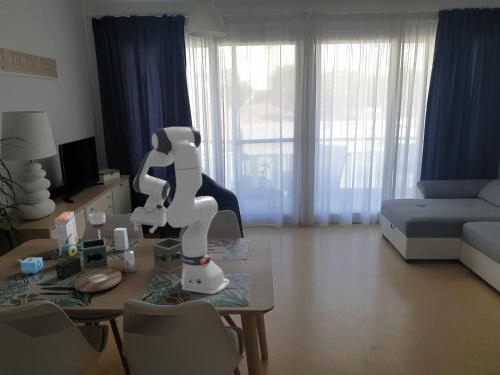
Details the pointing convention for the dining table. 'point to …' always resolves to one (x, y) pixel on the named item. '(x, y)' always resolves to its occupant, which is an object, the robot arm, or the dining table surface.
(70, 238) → the cracker box
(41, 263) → the teapot
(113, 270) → the turntable platter
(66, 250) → the decorative fish
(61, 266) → the digital camera
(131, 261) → the cast sleeve
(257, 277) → the dining table surface
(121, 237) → the skincare box
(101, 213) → the wineglass
